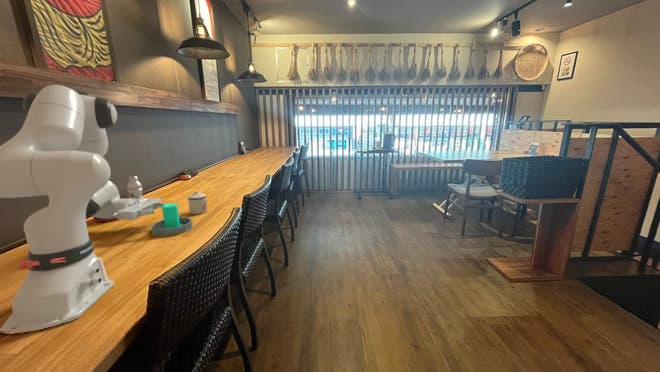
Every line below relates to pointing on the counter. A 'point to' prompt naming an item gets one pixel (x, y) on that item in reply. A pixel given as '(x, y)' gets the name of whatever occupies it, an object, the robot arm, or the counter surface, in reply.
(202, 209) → the teacup with lid
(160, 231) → the dish
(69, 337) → the counter surface
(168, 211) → the candle
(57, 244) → the robot arm
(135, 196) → the plastic bottle
